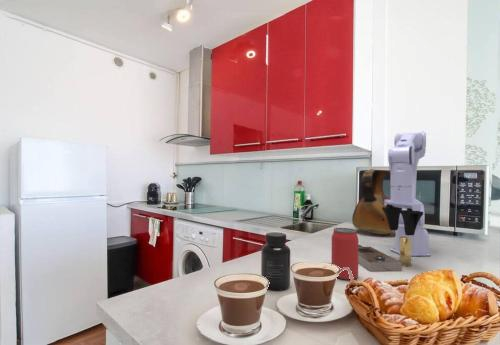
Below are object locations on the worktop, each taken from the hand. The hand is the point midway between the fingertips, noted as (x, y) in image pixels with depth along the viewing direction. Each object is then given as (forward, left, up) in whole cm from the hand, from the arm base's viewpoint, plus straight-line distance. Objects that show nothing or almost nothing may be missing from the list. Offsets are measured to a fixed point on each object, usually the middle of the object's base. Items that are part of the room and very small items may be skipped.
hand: (401, 232), depth 80 cm
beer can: (+21, +9, -10) cm, 25 cm away
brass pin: (-1, +1, -9) cm, 9 cm away
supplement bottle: (+40, +14, -10) cm, 43 cm away
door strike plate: (+8, -6, -9) cm, 14 cm away
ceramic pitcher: (-17, -44, -10) cm, 48 cm away
